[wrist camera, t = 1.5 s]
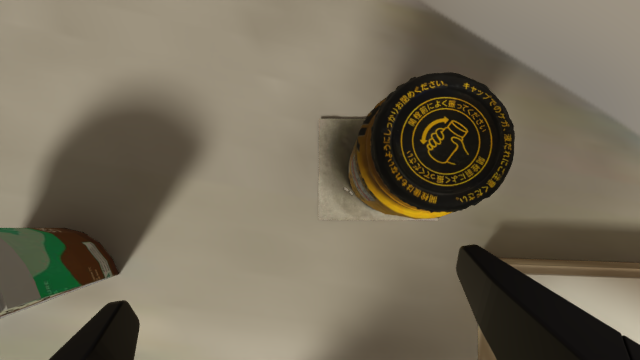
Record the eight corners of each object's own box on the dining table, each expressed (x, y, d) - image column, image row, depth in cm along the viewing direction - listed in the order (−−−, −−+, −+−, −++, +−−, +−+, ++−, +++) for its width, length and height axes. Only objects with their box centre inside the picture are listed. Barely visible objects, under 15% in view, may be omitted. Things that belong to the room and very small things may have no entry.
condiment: (438, 220, 23) (547, 237, 11) (318, 219, 24) (302, 235, 12) (435, 118, 24) (538, 33, 12) (318, 119, 24) (304, 37, 12)
